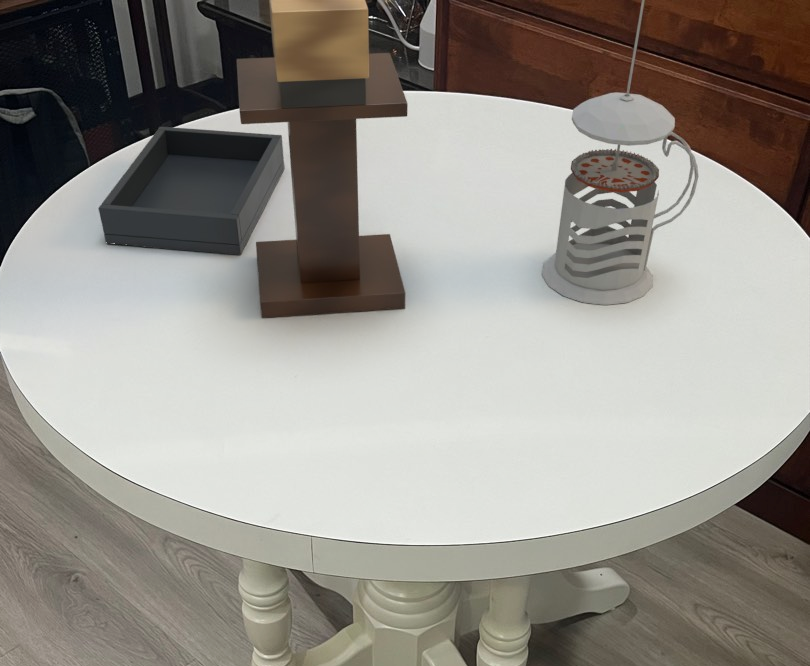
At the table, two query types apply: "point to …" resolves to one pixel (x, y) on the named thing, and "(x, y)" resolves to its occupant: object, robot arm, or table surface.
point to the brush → (320, 51)
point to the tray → (194, 190)
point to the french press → (620, 173)
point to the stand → (324, 200)
